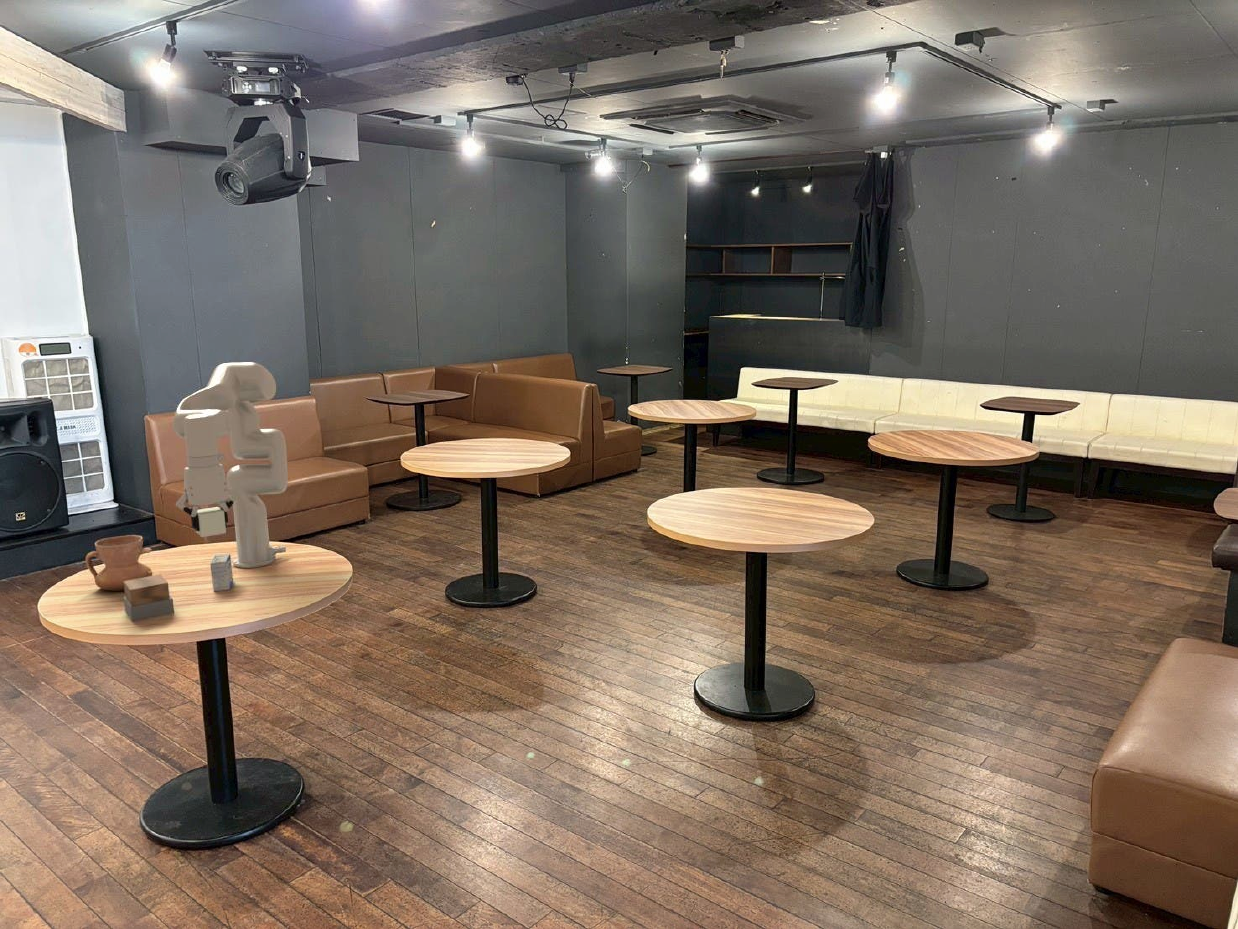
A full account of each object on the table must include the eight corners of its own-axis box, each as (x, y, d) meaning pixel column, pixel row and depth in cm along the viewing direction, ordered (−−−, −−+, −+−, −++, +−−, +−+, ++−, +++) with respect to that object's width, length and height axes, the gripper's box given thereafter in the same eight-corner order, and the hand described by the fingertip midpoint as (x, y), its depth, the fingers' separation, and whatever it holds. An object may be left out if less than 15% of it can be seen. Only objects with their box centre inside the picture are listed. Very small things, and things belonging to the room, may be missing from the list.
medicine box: (229, 590, 250) (226, 561, 248) (213, 591, 249) (210, 563, 247) (233, 581, 258) (230, 553, 256) (217, 583, 256) (214, 555, 255)
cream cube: (220, 528, 235) (217, 506, 234) (226, 533, 230) (223, 511, 229) (196, 532, 231) (193, 510, 230) (201, 537, 227) (199, 515, 225)
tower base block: (166, 604, 240) (164, 588, 239) (174, 614, 232) (172, 598, 232) (125, 612, 234) (123, 596, 233) (132, 623, 226) (130, 607, 226)
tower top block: (162, 590, 238) (160, 574, 238) (169, 598, 232) (167, 582, 231) (125, 597, 233) (123, 581, 232) (131, 606, 226) (129, 590, 225)
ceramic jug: (165, 577, 262) (159, 531, 259) (144, 593, 248) (138, 545, 245) (102, 580, 260) (96, 535, 257) (78, 597, 246) (71, 548, 243)
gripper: (234, 455, 235) (240, 519, 239) (164, 463, 224) (171, 530, 228) (242, 459, 229) (248, 525, 233) (170, 468, 219) (178, 536, 222)
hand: (210, 527), depth 230 cm, fingers closed on cream cube, 6 cm apart
